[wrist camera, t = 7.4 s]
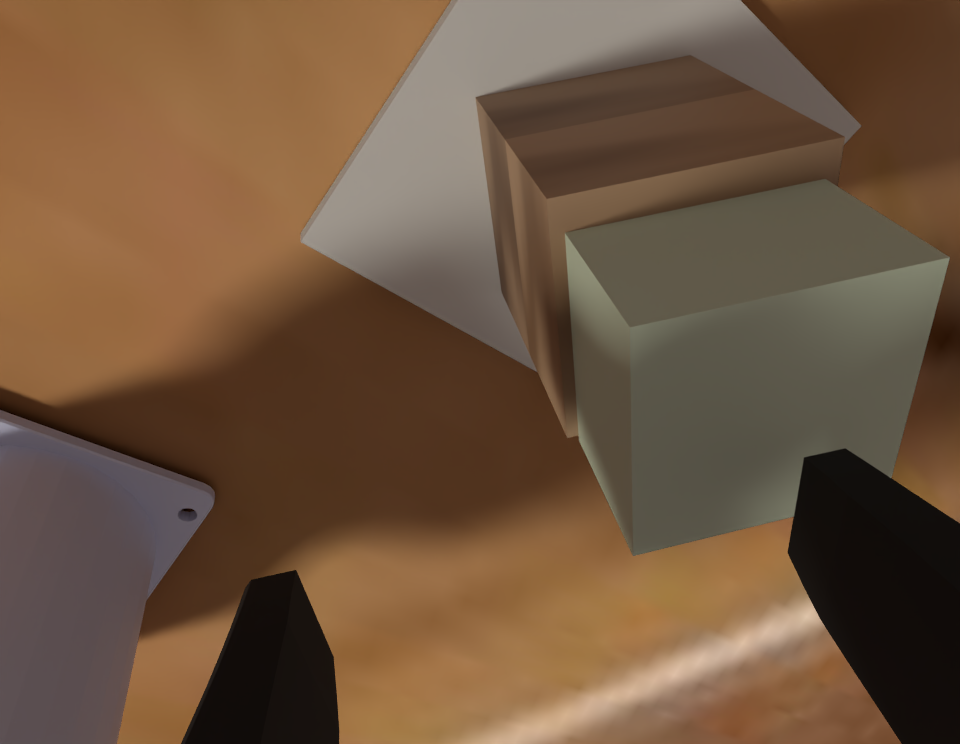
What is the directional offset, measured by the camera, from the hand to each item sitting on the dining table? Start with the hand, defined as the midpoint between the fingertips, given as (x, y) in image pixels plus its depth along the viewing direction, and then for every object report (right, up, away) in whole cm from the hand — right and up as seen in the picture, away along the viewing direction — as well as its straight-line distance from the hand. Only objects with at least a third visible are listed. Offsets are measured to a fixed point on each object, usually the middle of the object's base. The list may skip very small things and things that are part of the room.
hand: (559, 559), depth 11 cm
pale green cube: (+3, +4, +3) cm, 5 cm away
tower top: (+2, +6, +5) cm, 8 cm away
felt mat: (+1, +8, +8) cm, 11 cm away
